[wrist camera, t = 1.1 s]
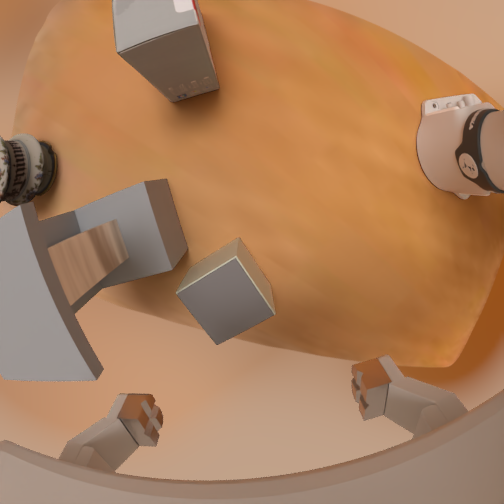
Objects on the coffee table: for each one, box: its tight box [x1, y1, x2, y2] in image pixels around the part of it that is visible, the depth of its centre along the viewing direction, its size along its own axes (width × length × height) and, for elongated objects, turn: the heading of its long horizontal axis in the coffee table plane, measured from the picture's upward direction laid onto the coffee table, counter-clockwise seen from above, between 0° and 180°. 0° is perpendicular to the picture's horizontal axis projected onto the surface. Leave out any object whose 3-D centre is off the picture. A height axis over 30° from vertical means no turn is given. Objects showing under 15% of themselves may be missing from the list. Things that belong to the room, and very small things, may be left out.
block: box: [47, 219, 129, 306], centre depth 26 cm, size 5×5×14 cm
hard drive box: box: [112, 0, 220, 102], centre depth 25 cm, size 16×8×20 cm, turn 13°
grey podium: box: [0, 179, 188, 381], centre depth 27 cm, size 12×11×30 cm
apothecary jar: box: [0, 134, 57, 206], centre depth 29 cm, size 12×12×18 cm
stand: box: [176, 237, 276, 345], centre depth 39 cm, size 9×9×10 cm
